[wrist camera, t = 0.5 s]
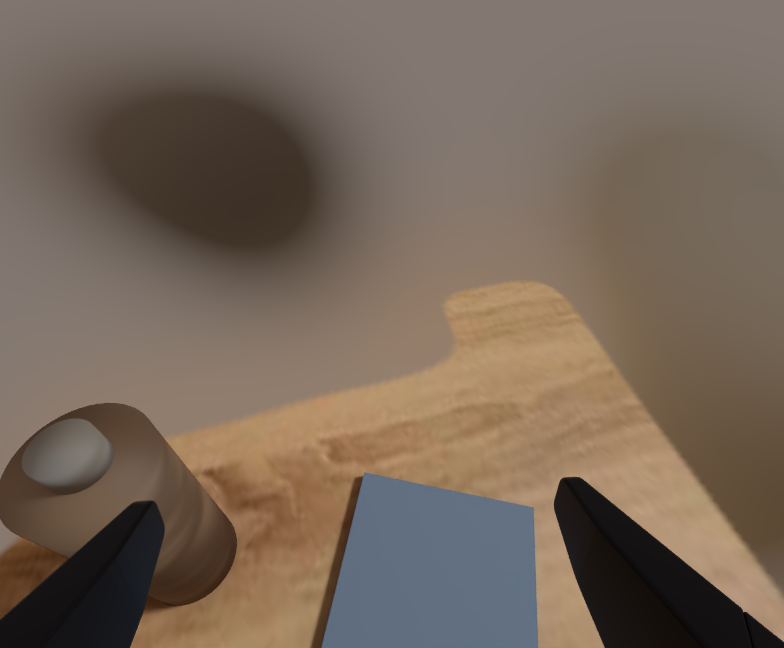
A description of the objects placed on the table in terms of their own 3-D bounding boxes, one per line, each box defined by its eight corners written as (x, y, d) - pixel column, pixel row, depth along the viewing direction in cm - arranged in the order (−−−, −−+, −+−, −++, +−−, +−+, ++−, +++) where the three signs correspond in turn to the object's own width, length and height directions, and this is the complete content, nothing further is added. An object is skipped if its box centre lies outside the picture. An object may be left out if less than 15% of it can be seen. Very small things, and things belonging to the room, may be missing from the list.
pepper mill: (211, 615, 21) (75, 544, 11) (126, 593, 21) (-75, 507, 12) (250, 518, 24) (169, 398, 14) (175, 501, 24) (48, 374, 15)
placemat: (539, 820, 16) (543, 823, 16) (297, 752, 18) (295, 753, 17) (531, 510, 24) (533, 507, 24) (364, 475, 25) (364, 472, 25)
